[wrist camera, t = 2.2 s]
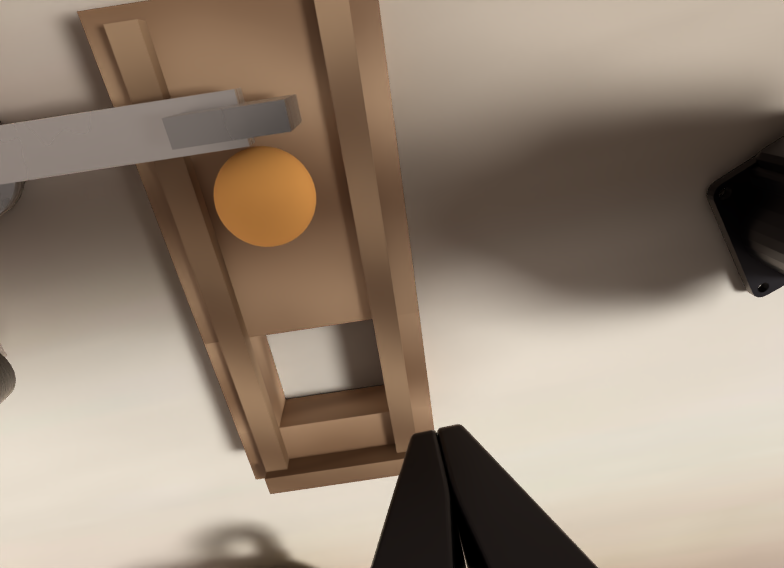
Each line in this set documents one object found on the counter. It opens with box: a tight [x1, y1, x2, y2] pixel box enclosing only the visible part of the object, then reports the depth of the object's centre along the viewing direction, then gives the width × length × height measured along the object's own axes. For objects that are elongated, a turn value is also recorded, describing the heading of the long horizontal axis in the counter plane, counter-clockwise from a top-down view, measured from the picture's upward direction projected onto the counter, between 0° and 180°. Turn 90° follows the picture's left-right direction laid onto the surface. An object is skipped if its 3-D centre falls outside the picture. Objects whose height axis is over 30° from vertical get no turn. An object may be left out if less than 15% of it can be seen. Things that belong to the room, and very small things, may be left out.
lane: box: [77, 0, 434, 494], centre depth 18 cm, size 20×9×3 cm, turn 8°
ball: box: [214, 146, 316, 247], centre depth 15 cm, size 3×3×3 cm
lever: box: [0, 88, 302, 403], centre depth 12 cm, size 10×15×9 cm
